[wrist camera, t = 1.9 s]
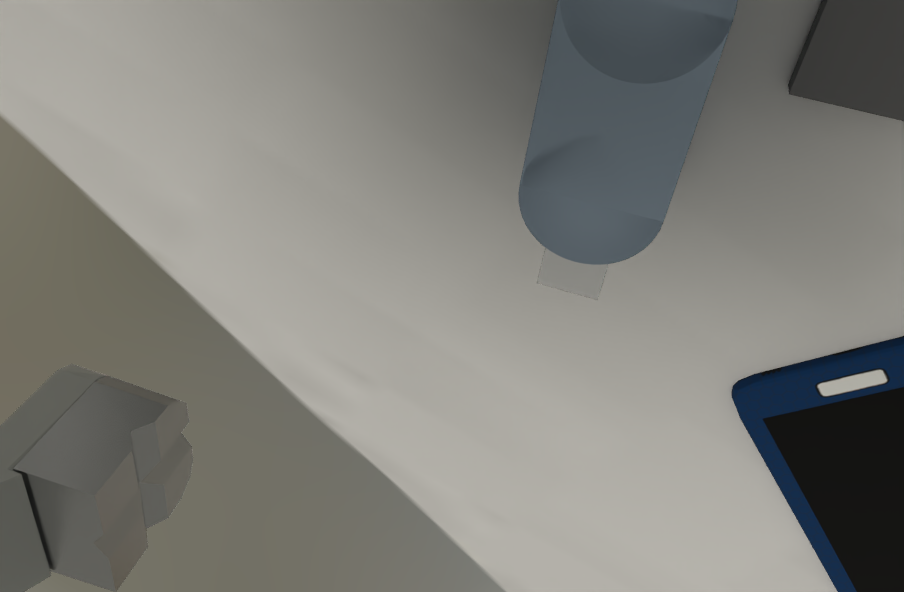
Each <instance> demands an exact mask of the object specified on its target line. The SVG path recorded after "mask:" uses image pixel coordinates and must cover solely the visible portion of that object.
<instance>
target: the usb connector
mask: <svg viewBox="0 0 904 592" xmlns="http://www.w3.org/2000/svg"><path fill="white" fill-rule="evenodd" d="M736 6H737V0H558V4H557V9H556V14H555V18H554V23H553V28H552V33H551V37H550V42H549V47H548V52H547V57H546V61H545V66H544V71H543V76H542V81H541V85H540V90H539V95H538V100H537V105H536V109H535V114H534V119H533V124H532V129H531V133H530V138H529V143H528V148H527V153H526V157H525V162H524V167H523V172H522V176H521V181H520V187H519V205H520V211H521V214H522V217H523V219H524V221H525V224H526V226H527V227H528V229H529V230H530V232H531V233H532V234H533V236H534V237H535V238H536V239H537V240H538V241H539V242H540V243H541V244H542V245H543V246H544V247H545V251H544V255H543V259H542V264H541V268H540V272H539V276H538V280H537V283H538V284H541V285H545V286H549V287H552V288H556V289H560V290H563V291H567V292H570V293H574V294H578V295H581V296H585V297H589V298H592V299H596V300H598V297H599V293H600V290H601V287H602V284H603V280H604V277H605V274H606V271H607V267H608V264H611V263H615V262H620V261H622V260H625V259H628V258H630V257H632V256H634V255H636V254H637V253H639V252H640V251H642V250H643V249H644V248H646V247H647V246H648V245H649V244H650V243H651V242H652V241H653V239H654V238H655V237H656V235H657V234H658V232H659V231H660V229H661V226H662V224H663V221H664V219H665V216H666V213H667V210H668V207H669V204H670V201H671V198H672V195H673V193H674V190H675V187H676V184H677V181H678V178H679V175H680V172H681V169H682V166H683V164H684V161H685V158H686V155H687V152H688V149H689V146H690V143H691V140H692V137H693V135H694V132H695V129H696V126H697V123H698V120H699V117H700V114H701V111H702V109H703V106H704V103H705V100H706V97H707V94H708V91H709V88H710V85H711V82H712V80H713V77H714V74H715V71H716V68H717V65H718V62H719V59H720V56H721V53H722V51H723V48H724V45H725V42H726V39H727V36H728V33H729V30H730V27H731V24H732V22H733V18H734V15H735V11H736Z"/></svg>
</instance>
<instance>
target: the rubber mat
mask: <svg viewBox="0 0 904 592" xmlns="http://www.w3.org/2000/svg"><path fill="white" fill-rule="evenodd" d="M788 87H789V94H791V95H795V96H799V97H803V98H808V99H812V100H816V101H820V102H825V103H829V104H833V105H838V106H842V107H846V108H850V109H855V110H859V111H863V112H868V113H872V114H876V115H880V116H885V117H889V118H893V119H898V120H902V121H904V0H823V1H822V3H821V6H820V8H819V11H818V13H817V16H816V18H815V21H814V23H813V26H812V28H811V30H810V33H809V35H808V38H807V40H806V43H805V45H804V48H803V50H802V53H801V55H800V57H799V60H798V62H797V65H796V67H795V70H794V72H793V75H792V77H791V80H790V82H789V84H788Z"/></svg>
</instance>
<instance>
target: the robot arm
mask: <svg viewBox="0 0 904 592" xmlns="http://www.w3.org/2000/svg"><path fill="white" fill-rule="evenodd" d="M188 423H189V416H188V409H187V403H186V402H183V401H180V400H177V399H174V398H171V397H168V396H165V395H163V394H160V393H157V392H154V391H151V390H148V389H145V388H142V387H139V386H136V385H134V384H131V383H128V382H125V381H122V380H120V379H117V378H114V377H111V376H108V375H105V374H102V373H99V372H95V371H92V370H90V369H87V368H84V367H81V366H77V365H74V364H70V365H68V366H65V367H63V368H61V369H58V370H57V371H56V372H55V373H54V374H53V375H52V376H51V377H50V378H49V379H47V381H45V382H44V383H43V384H42V385H41V386H40V387H39V388H38V389H37V390H36V391H35V392H34V393H33V394H32V395H31V396H30V397H29V398H28V399H27V400H26V401H25V402H24V403H23V404H22V405H21V406H20V407H19V408H18V409H17V410H16V411H15V412H14V413H13V414H12V415H11V416H10V417H9V418H8V419H7V420H6V421H5V422H4V423H3V424H2V425H1V426H0V592H25V591H26V590H28V589H30V588H31V587H33V586H35V585H36V584H38V583H40V582H41V581H43V580H45V579H46V578H48V577H50V576H51V571H53V572H56V573H59V574H62V575H65V576H68V577H71V578H74V579H77V580H80V581H83V582H86V583H90V584H93V585H96V586H98V587H101V588H105V589H108V590H111V591H114V592H116V591H117V590H118V588H119V587H120V586H121V584H122V583H123V582H124V580H125V579H126V577H127V576H128V575H129V573H130V572H131V570H132V569H133V567H134V566H135V565H136V563H137V562H138V560H139V559H140V558H141V556H142V555H143V553H144V552H145V551H146V549H147V548H148V543H147V542H148V541H147V528H149V527H150V526H153V525H155V524H157V523H159V522H161V521H163V520H165V519H167V518H169V516H170V515H171V513H172V512H173V510H174V509H175V507H176V506H177V504H178V503H179V501H180V499H181V498H182V496H183V493H184V491H185V488H186V486H187V483H188V481H189V479H190V476H191V470H192V463H193V453H192V446H191V445H190V443H189V442H188V441H187V439H186V438H185V437H184V435H183V434H182V433H181V432H182V431H183V429H184V428H185V427H186V426H187V424H188Z"/></svg>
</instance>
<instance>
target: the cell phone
mask: <svg viewBox="0 0 904 592" xmlns="http://www.w3.org/2000/svg"><path fill="white" fill-rule="evenodd" d="M732 398H733V401H734V403H735V406H736V408H737V411H738V413H739V416H740V418H741V420H742V422H743V424H744V426H745V427H746V429H747V431H748V433H749V434H750V436H751V438H752V440H753V442H754V443H755V445H756V447H757V449H758V451H759V452H760V454H761V456H762V458H763V459H764V461H765V463H766V465H767V467H768V468H769V470H770V472H771V474H772V475H773V477H774V479H775V481H776V483H777V484H778V486H779V488H780V490H781V492H782V493H783V495H784V497H785V499H786V500H787V502H788V504H789V506H790V508H791V509H792V511H793V513H794V515H795V516H796V518H797V520H798V522H799V524H800V525H801V527H802V529H803V531H804V533H805V534H806V536H807V538H808V540H809V541H810V543H811V545H812V547H813V549H814V550H815V552H816V554H817V556H818V557H819V559H820V561H821V563H822V565H823V566H824V568H825V570H826V572H827V573H828V575H829V577H830V579H831V581H832V582H833V584H834V586H835V588H836V590H837V591H838V592H904V336H903V337H899V338H895V339H891V340H887V341H883V342H879V343H875V344H871V345H867V346H863V347H859V348H855V349H851V350H848V351H844V352H840V353H836V354H832V355H828V356H824V357H820V358H816V359H812V360H808V361H804V362H801V363H797V364H793V365H789V366H785V367H781V368H777V369H773V370H769V371H765V372H761V373H757V374H754V375H751V376H749V377H747V378H744V379H742V380H739V381H738V382H737V383H736V384H735V385H734V386H733V389H732Z"/></svg>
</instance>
